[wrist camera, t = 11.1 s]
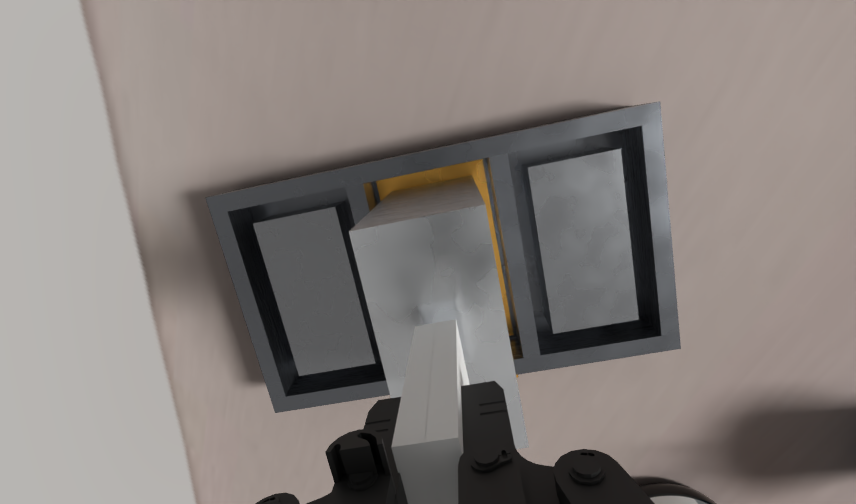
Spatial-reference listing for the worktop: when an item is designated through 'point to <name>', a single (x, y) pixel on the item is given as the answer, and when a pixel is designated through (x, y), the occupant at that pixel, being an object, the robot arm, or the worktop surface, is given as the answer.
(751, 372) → the worktop surface
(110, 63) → the worktop surface
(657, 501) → the supplement container
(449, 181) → the grey rectangular block
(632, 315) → the rack
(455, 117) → the worktop surface
